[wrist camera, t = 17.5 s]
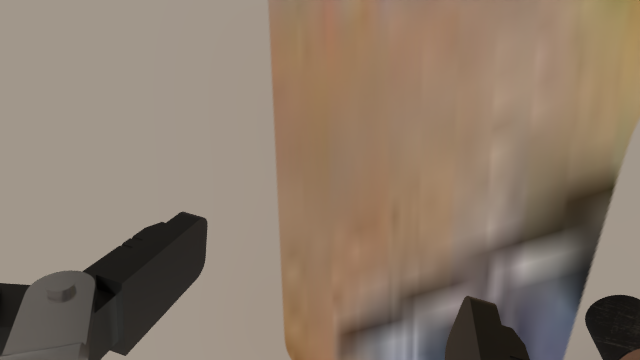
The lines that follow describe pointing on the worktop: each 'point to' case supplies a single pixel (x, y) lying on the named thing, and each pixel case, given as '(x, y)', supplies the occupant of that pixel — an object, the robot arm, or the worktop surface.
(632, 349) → the travel mug
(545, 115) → the worktop surface
